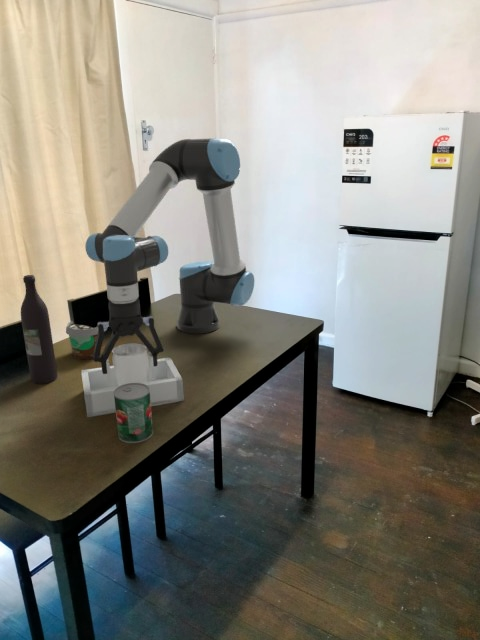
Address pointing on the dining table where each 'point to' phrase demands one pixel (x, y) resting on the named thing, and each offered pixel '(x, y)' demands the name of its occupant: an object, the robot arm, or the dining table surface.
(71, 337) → the food container
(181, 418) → the dining table surface
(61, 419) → the dining table surface
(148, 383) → the bin
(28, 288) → the wine bottle
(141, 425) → the canned tomato
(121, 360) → the cup
